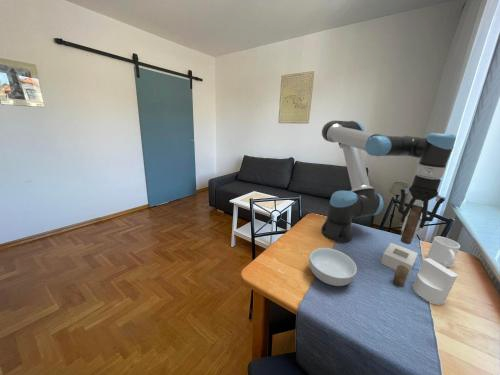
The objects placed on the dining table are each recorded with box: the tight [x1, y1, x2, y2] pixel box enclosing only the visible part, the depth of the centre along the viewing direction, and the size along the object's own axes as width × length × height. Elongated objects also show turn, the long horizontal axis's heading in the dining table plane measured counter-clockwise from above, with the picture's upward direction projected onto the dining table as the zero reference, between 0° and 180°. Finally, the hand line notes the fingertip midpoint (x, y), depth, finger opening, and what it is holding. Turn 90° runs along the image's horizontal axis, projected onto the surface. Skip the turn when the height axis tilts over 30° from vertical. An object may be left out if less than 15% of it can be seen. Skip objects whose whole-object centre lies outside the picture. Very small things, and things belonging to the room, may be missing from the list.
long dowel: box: [400, 204, 423, 245], centre depth 81 cm, size 4×4×16 cm
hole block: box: [380, 242, 419, 277], centre depth 87 cm, size 10×12×5 cm
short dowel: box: [391, 265, 409, 288], centre depth 75 cm, size 4×4×7 cm
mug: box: [426, 235, 461, 268], centre depth 87 cm, size 12×8×10 cm
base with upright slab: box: [412, 257, 459, 305], centre depth 71 cm, size 9×9×12 cm
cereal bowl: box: [308, 247, 358, 287], centre depth 78 cm, size 17×17×7 cm
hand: (409, 231), depth 82 cm, fingers closed on long dowel, 3 cm apart
